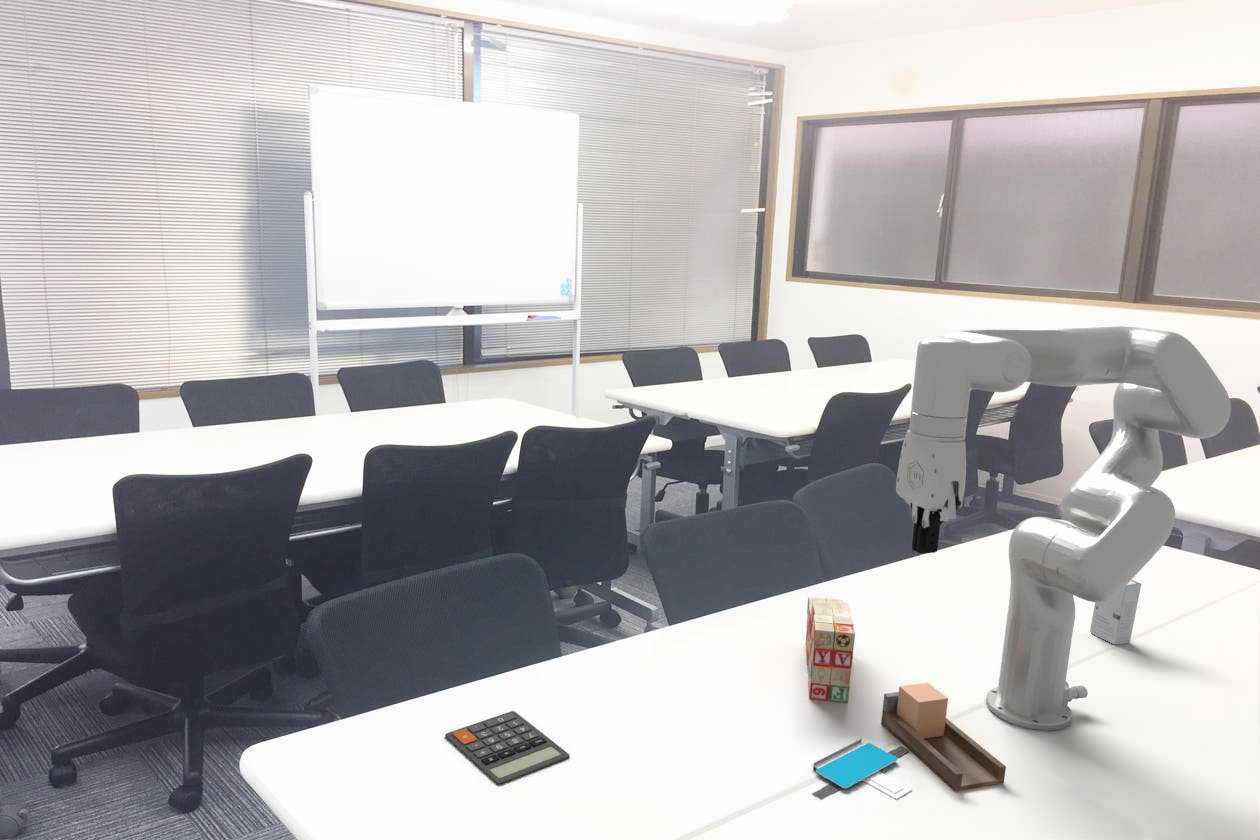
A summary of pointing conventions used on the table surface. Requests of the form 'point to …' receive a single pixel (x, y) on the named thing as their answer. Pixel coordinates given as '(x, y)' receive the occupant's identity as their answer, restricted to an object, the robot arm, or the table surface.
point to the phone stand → (860, 769)
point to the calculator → (506, 747)
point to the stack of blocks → (829, 649)
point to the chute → (946, 751)
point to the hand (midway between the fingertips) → (924, 550)
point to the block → (922, 709)
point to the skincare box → (1116, 615)
